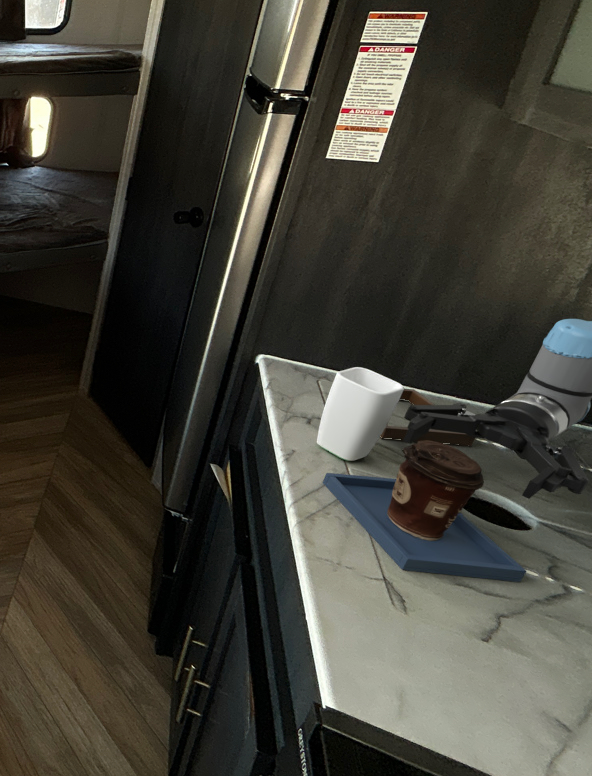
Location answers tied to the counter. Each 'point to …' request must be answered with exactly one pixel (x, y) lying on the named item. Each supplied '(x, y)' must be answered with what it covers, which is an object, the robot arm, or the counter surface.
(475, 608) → the counter surface
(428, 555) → the tray
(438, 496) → the coffee cup
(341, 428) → the cup
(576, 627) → the counter surface
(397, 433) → the brown picture frame
